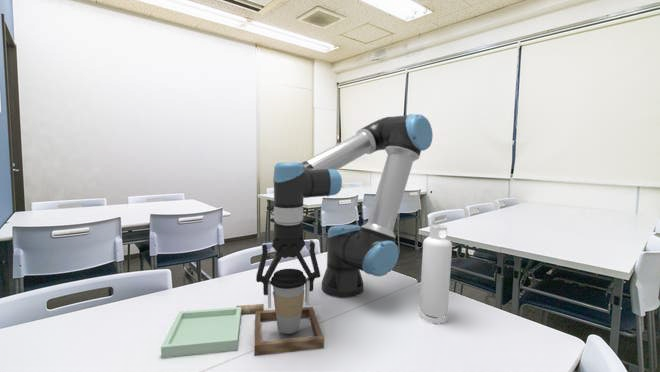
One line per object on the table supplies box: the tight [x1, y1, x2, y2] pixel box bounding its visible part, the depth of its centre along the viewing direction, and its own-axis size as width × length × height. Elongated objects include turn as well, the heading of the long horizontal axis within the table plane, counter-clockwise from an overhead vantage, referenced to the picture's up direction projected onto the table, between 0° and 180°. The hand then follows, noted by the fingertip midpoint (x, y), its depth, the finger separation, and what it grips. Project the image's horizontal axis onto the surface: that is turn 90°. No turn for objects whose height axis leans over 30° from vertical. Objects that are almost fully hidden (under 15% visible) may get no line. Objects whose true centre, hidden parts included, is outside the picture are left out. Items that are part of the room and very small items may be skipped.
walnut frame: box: [253, 306, 325, 356], centre depth 85 cm, size 17×17×2 cm
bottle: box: [418, 223, 453, 324], centre depth 95 cm, size 8×8×28 cm
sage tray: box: [160, 306, 242, 359], centre depth 84 cm, size 17×17×3 cm
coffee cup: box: [270, 268, 307, 335], centre depth 85 cm, size 9×9×15 cm
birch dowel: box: [235, 303, 265, 315], centre depth 96 cm, size 8×2×2 cm
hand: (288, 304), depth 85 cm, fingers closed on coffee cup, 9 cm apart
